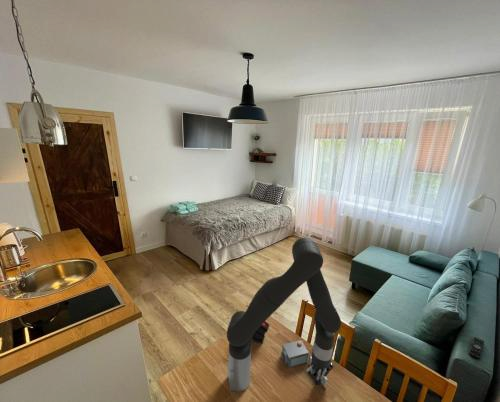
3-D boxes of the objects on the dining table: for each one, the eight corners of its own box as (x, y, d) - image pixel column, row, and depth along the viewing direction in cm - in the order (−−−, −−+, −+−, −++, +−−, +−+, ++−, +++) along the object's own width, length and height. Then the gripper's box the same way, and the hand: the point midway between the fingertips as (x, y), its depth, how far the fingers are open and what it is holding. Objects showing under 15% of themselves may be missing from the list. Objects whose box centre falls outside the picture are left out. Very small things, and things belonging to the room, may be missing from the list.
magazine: (239, 328, 122) (251, 311, 116) (260, 343, 119) (273, 326, 114) (236, 333, 118) (249, 316, 113) (257, 349, 116) (271, 332, 110)
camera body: (285, 369, 102) (286, 357, 101) (279, 354, 109) (279, 344, 107) (307, 362, 106) (308, 351, 104) (300, 349, 112) (301, 338, 110)
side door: (326, 387, 95) (328, 378, 94) (324, 388, 95) (325, 379, 94) (310, 362, 106) (311, 354, 105) (307, 362, 105) (308, 355, 104)
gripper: (313, 364, 86) (307, 397, 90) (341, 355, 89) (335, 388, 94) (303, 347, 92) (298, 378, 97) (330, 340, 96) (324, 370, 101)
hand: (316, 383), depth 95 cm, fingers closed
